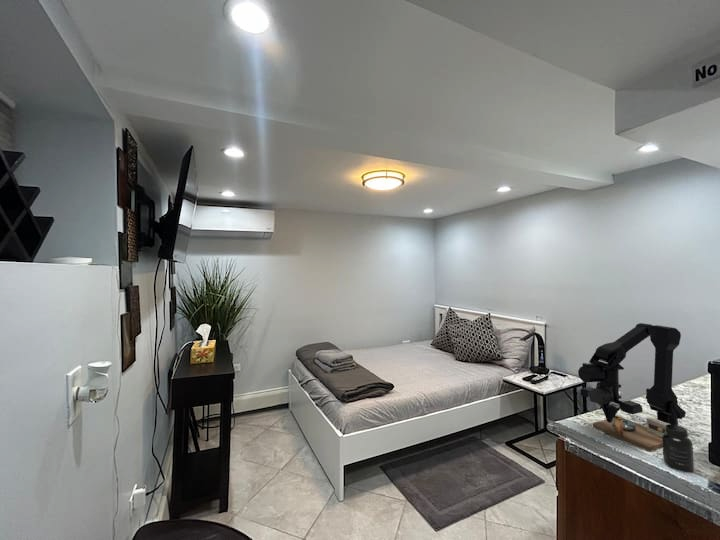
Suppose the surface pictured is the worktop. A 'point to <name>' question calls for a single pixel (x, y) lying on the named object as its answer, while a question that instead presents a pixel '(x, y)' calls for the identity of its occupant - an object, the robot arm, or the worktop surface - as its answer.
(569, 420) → the worktop surface
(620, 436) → the stand
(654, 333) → the robot arm
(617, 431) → the cam lever
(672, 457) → the supplement bottle
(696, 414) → the worktop surface
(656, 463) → the worktop surface
